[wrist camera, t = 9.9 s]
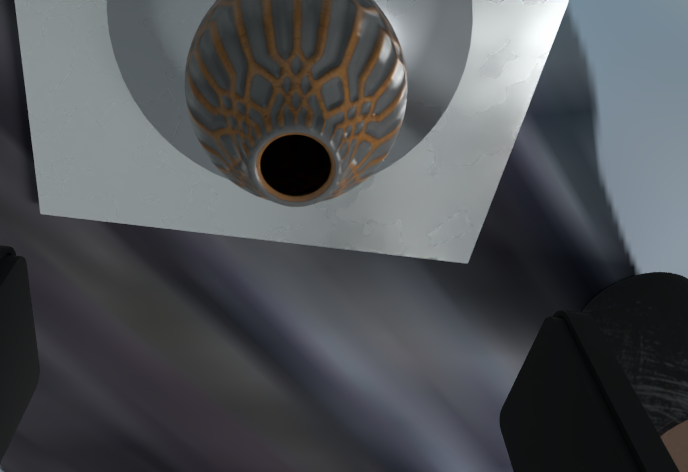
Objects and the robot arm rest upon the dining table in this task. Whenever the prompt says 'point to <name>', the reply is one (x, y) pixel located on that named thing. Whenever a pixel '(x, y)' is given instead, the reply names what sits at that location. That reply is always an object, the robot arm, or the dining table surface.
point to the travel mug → (652, 348)
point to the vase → (296, 94)
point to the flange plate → (229, 199)
